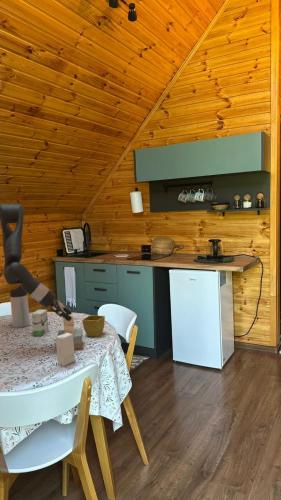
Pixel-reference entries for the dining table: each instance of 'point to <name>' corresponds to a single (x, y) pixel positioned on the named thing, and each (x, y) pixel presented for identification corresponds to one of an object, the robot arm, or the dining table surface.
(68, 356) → the skincare box
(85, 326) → the flower pot
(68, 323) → the maple block
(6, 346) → the dining table surface
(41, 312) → the ink box
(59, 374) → the dining table surface
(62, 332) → the tower top slab
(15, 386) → the dining table surface
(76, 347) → the tower base slab
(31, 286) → the robot arm
